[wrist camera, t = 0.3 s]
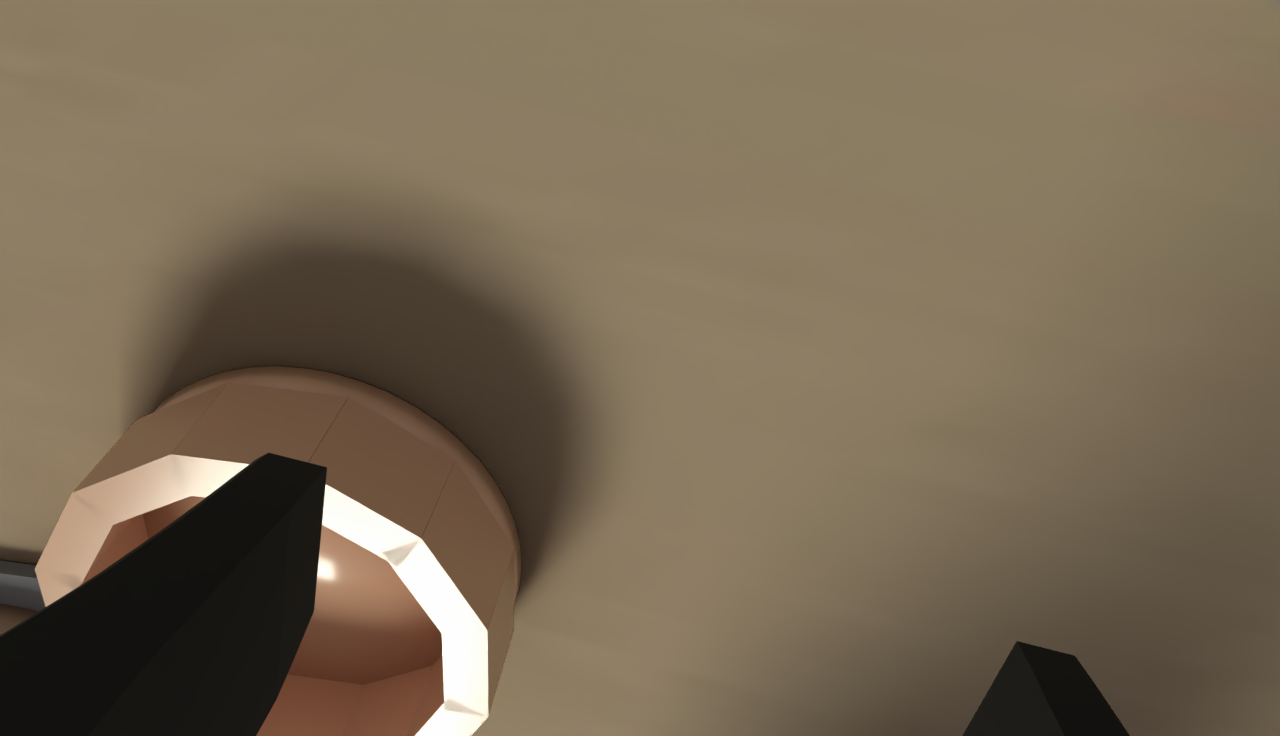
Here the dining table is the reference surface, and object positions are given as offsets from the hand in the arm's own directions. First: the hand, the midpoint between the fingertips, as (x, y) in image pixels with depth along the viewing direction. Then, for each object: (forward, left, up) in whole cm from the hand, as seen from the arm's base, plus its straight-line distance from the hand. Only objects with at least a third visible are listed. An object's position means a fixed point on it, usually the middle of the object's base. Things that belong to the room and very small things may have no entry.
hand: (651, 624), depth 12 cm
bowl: (-9, +8, -10) cm, 15 cm away
